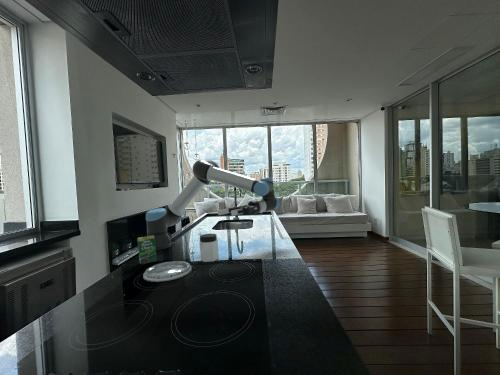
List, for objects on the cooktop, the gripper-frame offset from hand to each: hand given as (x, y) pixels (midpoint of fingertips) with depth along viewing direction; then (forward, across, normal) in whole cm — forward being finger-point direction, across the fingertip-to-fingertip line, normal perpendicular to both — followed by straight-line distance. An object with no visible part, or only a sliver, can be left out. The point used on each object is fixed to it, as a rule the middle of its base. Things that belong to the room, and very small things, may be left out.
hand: (224, 213), depth 133 cm
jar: (+12, 0, -21) cm, 24 cm away
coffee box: (+36, +20, -19) cm, 45 cm away
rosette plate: (+33, -3, -20) cm, 39 cm away
